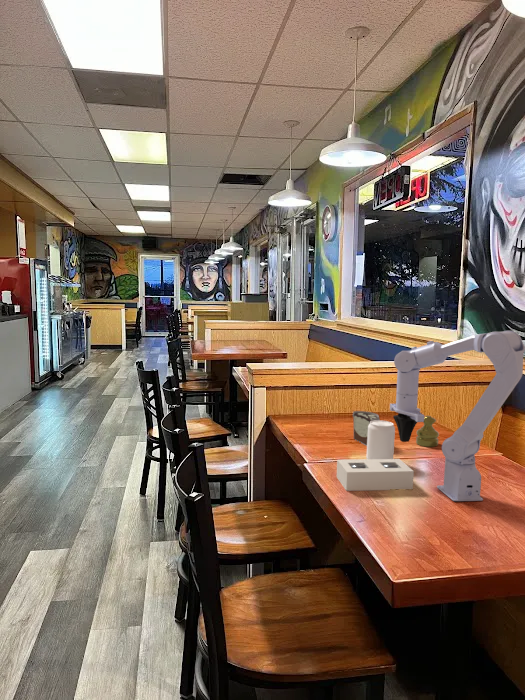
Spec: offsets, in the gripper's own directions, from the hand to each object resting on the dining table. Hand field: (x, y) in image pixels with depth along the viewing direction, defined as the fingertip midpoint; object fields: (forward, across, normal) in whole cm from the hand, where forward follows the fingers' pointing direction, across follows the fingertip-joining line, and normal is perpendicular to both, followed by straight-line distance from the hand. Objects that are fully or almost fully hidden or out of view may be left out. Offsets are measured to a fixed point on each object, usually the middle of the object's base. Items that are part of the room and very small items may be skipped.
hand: (404, 441), depth 140 cm
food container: (+10, +33, -6) cm, 35 cm away
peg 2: (+10, -3, +6) cm, 12 cm away
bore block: (+10, -3, +11) cm, 15 cm away
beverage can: (+10, +14, 0) cm, 17 cm away
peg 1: (+10, -2, +15) cm, 18 cm away
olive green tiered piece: (+10, +27, -26) cm, 39 cm away
